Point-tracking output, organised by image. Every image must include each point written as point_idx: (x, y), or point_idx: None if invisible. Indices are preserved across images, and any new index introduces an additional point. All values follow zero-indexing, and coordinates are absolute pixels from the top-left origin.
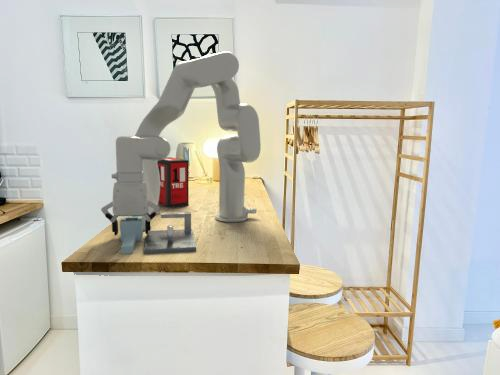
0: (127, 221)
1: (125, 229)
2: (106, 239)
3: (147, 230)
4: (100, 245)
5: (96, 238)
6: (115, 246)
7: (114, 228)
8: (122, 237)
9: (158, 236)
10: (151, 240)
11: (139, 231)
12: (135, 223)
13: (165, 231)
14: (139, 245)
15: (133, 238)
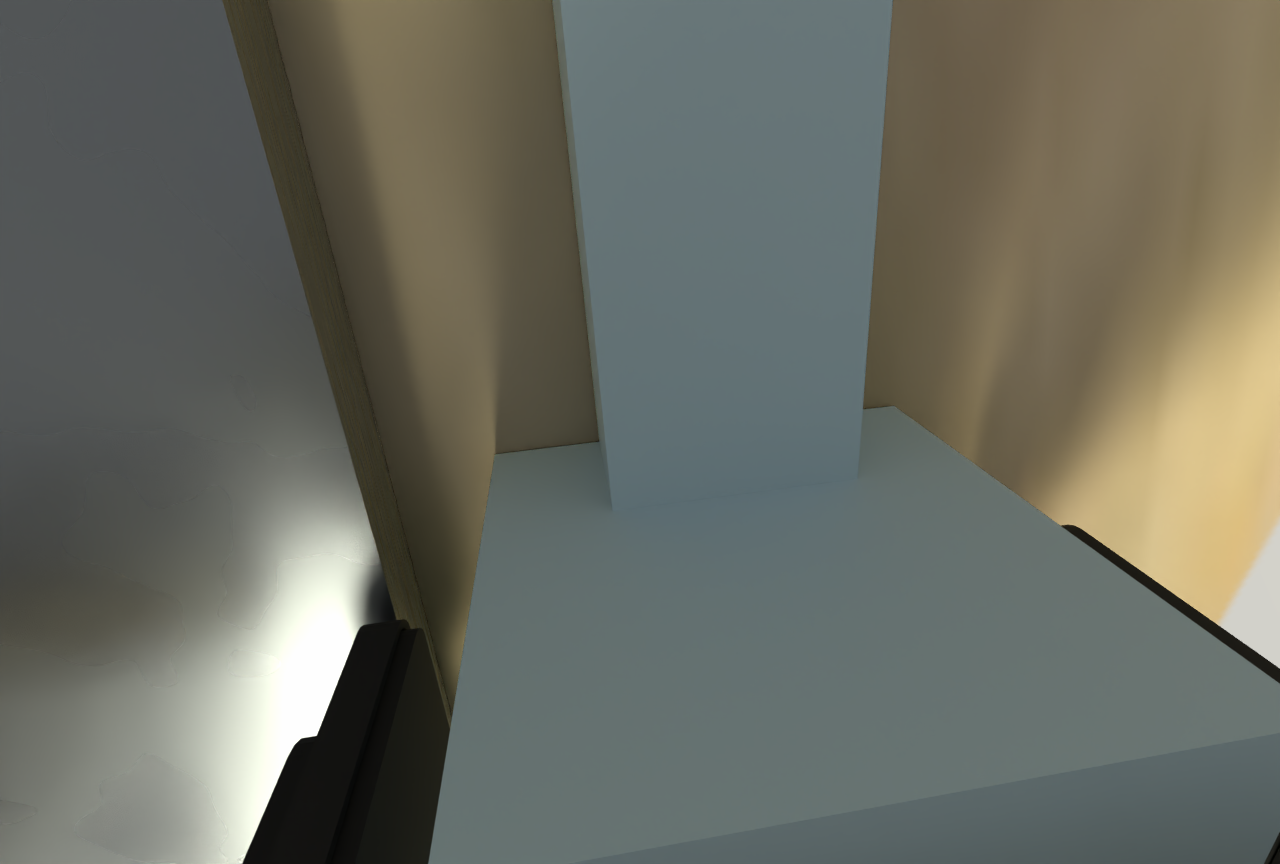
0: (1036, 803)
1: (932, 554)
2: (1117, 518)
3: (341, 683)
4: (1255, 174)
5: (1249, 562)
6: (988, 71)
7: (1199, 619)
8: (898, 442)
9: (43, 512)
10: (82, 148)
11: (527, 564)
12: (675, 756)
13: (47, 833)
14: (455, 98)
15: (617, 121)
